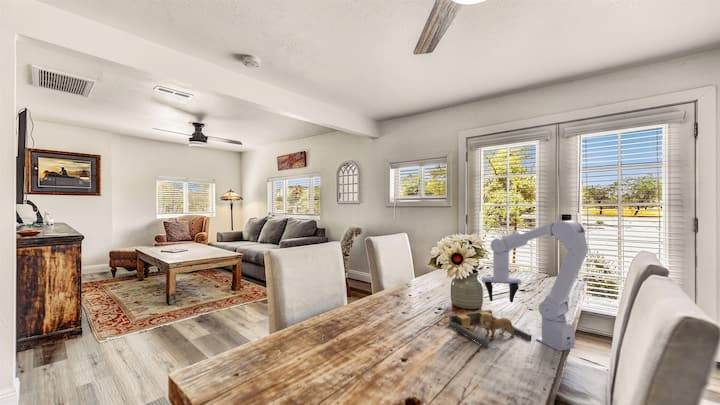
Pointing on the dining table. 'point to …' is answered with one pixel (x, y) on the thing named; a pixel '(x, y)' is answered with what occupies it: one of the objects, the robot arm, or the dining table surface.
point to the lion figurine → (496, 325)
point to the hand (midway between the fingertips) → (501, 301)
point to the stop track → (473, 317)
